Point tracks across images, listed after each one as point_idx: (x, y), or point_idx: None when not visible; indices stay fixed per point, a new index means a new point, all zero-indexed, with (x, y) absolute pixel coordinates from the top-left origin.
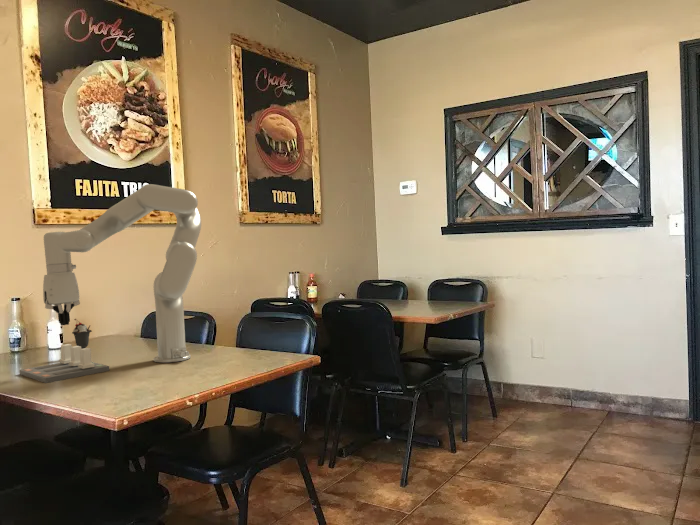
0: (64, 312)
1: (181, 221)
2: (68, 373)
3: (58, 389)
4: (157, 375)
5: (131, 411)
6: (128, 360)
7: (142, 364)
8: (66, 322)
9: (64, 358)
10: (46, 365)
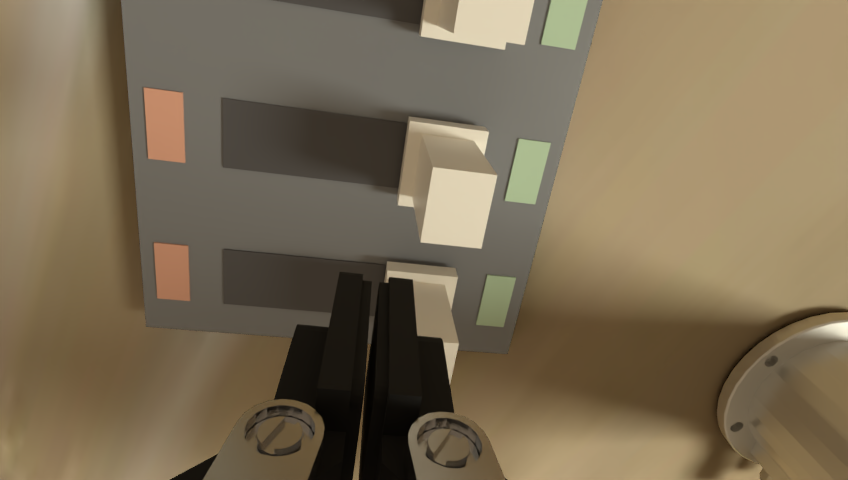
0: (375, 478)
1: None
2: (282, 330)
3: (151, 470)
4: None
5: None
6: (759, 187)
7: (672, 356)
8: (364, 403)
9: (441, 7)
10: None
